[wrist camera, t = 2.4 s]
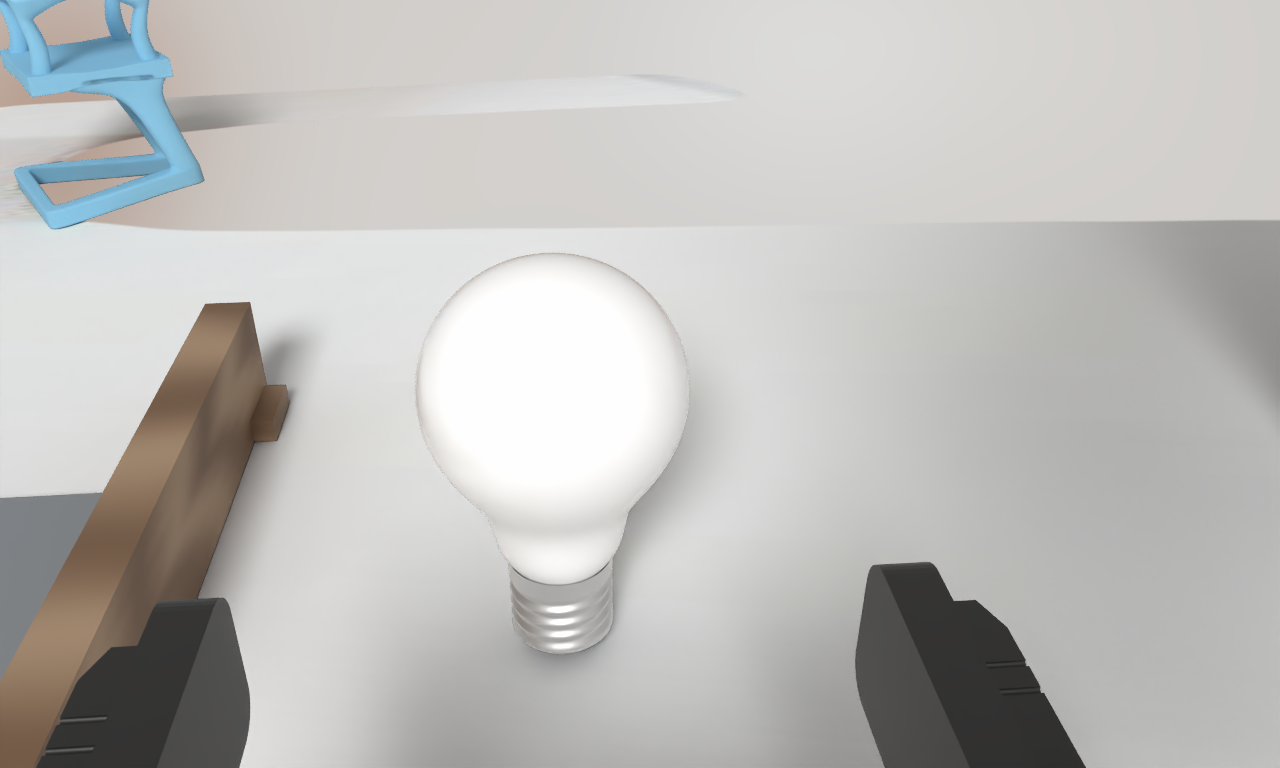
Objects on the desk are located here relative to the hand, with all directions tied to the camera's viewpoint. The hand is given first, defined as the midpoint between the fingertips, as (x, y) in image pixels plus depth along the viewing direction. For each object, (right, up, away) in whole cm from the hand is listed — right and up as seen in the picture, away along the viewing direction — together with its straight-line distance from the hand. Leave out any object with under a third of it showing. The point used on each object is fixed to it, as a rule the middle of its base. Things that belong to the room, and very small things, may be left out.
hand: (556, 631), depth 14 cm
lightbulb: (-1, -4, +16) cm, 16 cm away
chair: (-27, +13, +44) cm, 53 cm away
